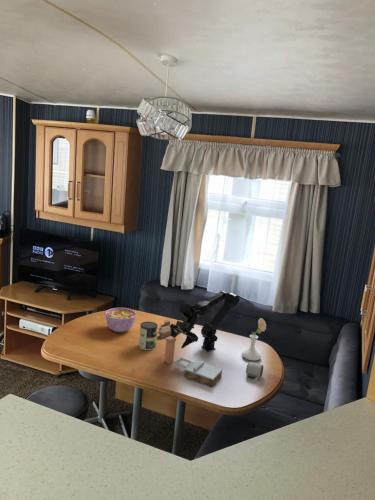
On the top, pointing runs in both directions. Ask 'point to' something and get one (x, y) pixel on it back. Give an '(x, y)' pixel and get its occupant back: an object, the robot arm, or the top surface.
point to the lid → (200, 368)
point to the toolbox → (202, 378)
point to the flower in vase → (252, 352)
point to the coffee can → (148, 335)
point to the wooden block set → (165, 330)
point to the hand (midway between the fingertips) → (175, 345)
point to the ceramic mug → (254, 371)
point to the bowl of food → (120, 319)
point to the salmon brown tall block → (169, 349)
